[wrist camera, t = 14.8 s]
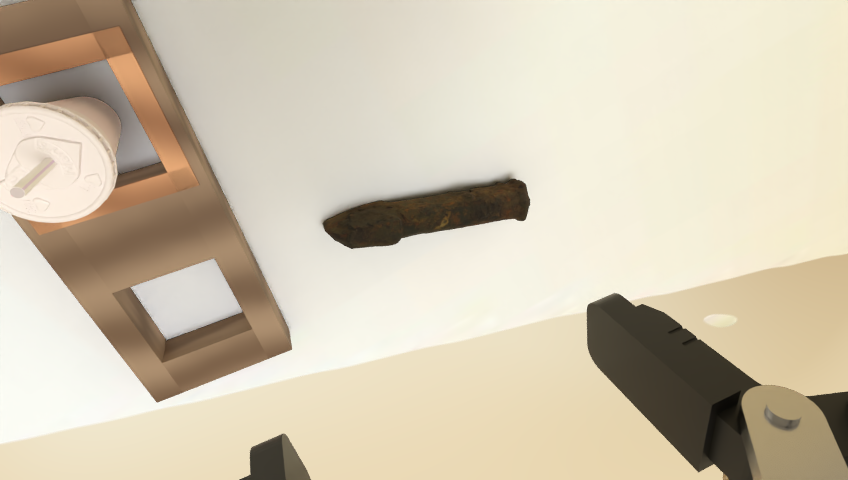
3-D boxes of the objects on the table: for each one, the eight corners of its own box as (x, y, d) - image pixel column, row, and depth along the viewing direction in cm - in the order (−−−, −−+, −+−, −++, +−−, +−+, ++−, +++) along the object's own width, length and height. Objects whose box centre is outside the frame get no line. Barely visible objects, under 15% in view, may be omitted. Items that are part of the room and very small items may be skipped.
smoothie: (164, 138, 34) (127, 214, 22) (87, 185, 34) (8, 287, 22) (92, 56, 30) (2, 96, 19) (5, 108, 30) (-141, 181, 18)
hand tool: (513, 172, 46) (539, 189, 42) (509, 209, 48) (533, 229, 44) (320, 191, 40) (328, 213, 36) (323, 233, 42) (332, 257, 38)
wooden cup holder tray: (-95, 31, 27) (-131, 35, 24) (122, -18, 29) (110, -19, 27) (161, 378, 43) (156, 404, 40) (289, 329, 45) (292, 350, 42)
